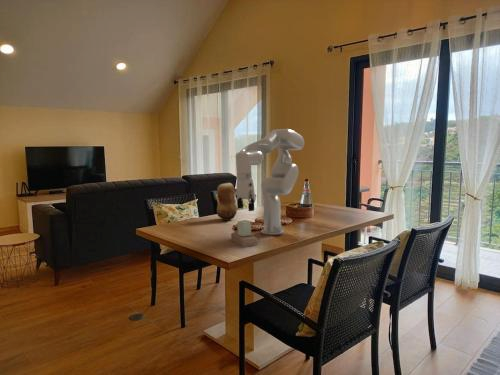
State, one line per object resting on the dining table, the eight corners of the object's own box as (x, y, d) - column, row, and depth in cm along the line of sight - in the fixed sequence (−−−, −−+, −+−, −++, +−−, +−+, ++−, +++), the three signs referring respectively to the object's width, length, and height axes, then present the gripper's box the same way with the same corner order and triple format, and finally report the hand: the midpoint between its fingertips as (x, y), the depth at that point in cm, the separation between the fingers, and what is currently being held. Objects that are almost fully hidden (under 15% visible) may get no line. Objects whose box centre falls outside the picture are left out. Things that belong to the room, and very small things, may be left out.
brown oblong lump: (213, 219, 253) (212, 183, 250) (229, 217, 261) (228, 181, 258) (224, 223, 242) (223, 184, 239) (241, 220, 250) (240, 182, 247)
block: (251, 234, 193) (250, 221, 192) (243, 236, 190) (243, 222, 189) (245, 233, 197) (245, 220, 196) (237, 234, 194) (237, 221, 193)
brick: (258, 246, 188) (258, 236, 188) (243, 248, 185) (243, 239, 184) (244, 239, 203) (244, 230, 202) (230, 241, 199) (230, 232, 199)
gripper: (260, 176, 185) (261, 210, 188) (240, 174, 199) (242, 206, 202) (248, 178, 181) (250, 213, 183) (228, 176, 195) (230, 208, 197)
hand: (245, 209), depth 192 cm, fingers open, 9 cm apart
